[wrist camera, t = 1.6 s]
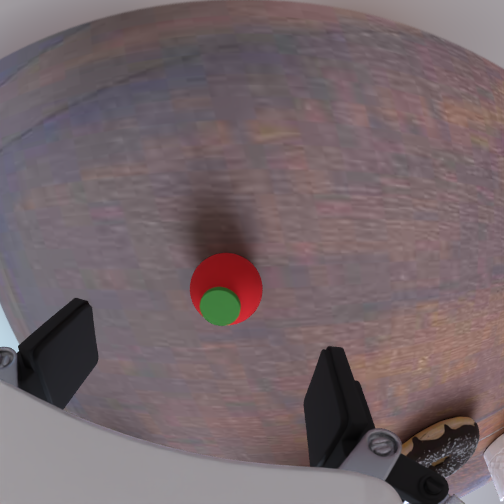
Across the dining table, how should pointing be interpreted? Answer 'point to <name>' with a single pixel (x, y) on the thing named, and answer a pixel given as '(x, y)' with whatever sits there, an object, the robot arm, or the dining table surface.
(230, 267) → the tomato
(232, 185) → the dining table surface
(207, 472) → the robot arm
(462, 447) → the donut
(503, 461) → the white cup
